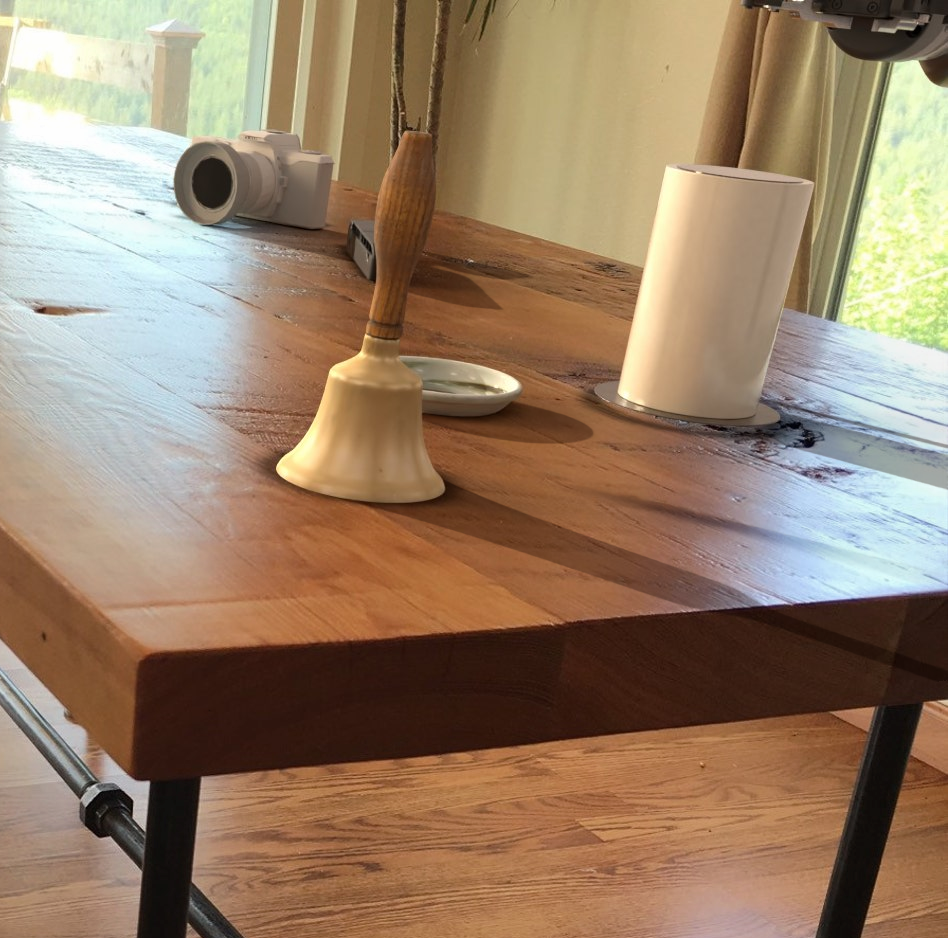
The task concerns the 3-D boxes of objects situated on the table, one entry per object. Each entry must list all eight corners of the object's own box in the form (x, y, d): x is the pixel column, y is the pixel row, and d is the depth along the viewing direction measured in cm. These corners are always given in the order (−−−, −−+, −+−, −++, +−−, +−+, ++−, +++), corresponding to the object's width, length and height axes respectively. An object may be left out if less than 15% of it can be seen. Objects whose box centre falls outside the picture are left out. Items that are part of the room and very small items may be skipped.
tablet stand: (344, 250, 152) (348, 216, 151) (372, 252, 152) (377, 218, 151) (367, 282, 136) (372, 244, 135) (398, 285, 136) (403, 247, 135)
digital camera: (128, 247, 166) (118, 141, 163) (227, 237, 175) (220, 136, 172) (245, 236, 154) (236, 121, 151) (345, 226, 163) (339, 117, 160)
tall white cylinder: (768, 425, 95) (830, 188, 90) (625, 408, 96) (677, 171, 90) (730, 380, 107) (782, 167, 101) (602, 365, 107) (647, 152, 102)
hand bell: (379, 456, 85) (430, 124, 78) (480, 504, 78) (545, 147, 71) (242, 464, 81) (282, 116, 74) (336, 515, 75) (390, 139, 68)
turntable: (773, 413, 103) (777, 398, 103) (780, 452, 94) (784, 435, 93) (595, 387, 106) (598, 371, 105) (585, 422, 96) (588, 405, 96)
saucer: (317, 395, 97) (323, 353, 95) (460, 395, 100) (466, 355, 99) (396, 439, 89) (403, 394, 88) (548, 438, 92) (556, 394, 91)
